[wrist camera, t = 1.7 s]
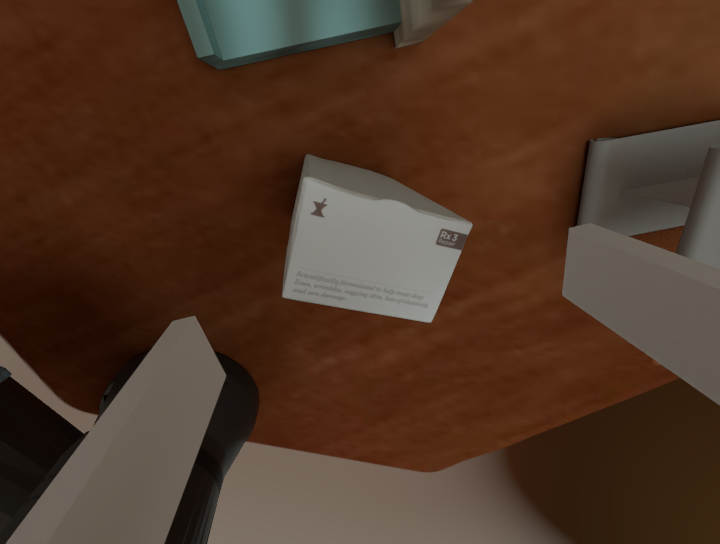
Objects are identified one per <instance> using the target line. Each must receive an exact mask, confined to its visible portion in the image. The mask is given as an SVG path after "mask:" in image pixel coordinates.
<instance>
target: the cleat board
mask: <svg viewBox="0 0 720 544" xmlns="http://www.w3.org/2000/svg"><path fill="white" fill-rule="evenodd" d="M472 1H473V0H177V2H178V5H179V8H180V10H181V13H182V16H183V19H184V21H185V24H186V27H187V30H188V33H189V35H190V38H191V41H192V44H193V46H194V49H195V52H196V55H197V58H199V59H201V60H202V61H204V62H206V63H208V64H209V65H211V66H213V67H215V68H217V69H218V70H222V69H226V68H231V67H236V66H240V65H245V64H249V63H254V62H259V61H263V60H268V59H272V58H277V57H281V56H286V55H291V54H295V53H300V52H304V51H309V50H313V49H318V48H323V47H327V46H332V45H336V44H341V43H345V42H350V41H355V40H359V39H364V38H368V37H373V36H377V35H382V34H387V33H391V32H394V39H395V47H396V48H399V47H403V46H408V45H413V44H417V43H422V42H423V41H424V40H425V39H427V38H428V37H429V36H430V35H431V34H433V33H434V32H435V31H436V30H438V29H439V28H440V27H441V26H443V25H444V24H445V23H446V22H448V21H449V20H450V19H451V18H452V17H454V16H455V15H456V14H457V13H459V12H460V11H461V10H462V9H464V8H465V7H466V6H467V5H469V4H470V3H471V2H472Z"/></svg>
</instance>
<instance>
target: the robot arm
mask: <svg viewBox="0 0 720 544" xmlns="http://www.w3.org/2000/svg"><path fill="white" fill-rule="evenodd" d="M562 296H564V297H565V298H567V299H568V300H569V301H571V302H572V303H574V304H575V305H577V306H578V307H580V308H581V309H582V310H584V311H585V312H587V313H588V314H590V315H591V316H592V317H594V318H595V319H597V320H598V321H600V322H601V323H603V324H604V325H605V326H607V327H608V328H610V329H611V330H613V331H614V332H615V333H617V334H618V335H620V336H621V337H623V338H624V339H625V340H627V341H628V342H630V343H631V344H633V345H634V346H636V347H637V348H638V349H640V350H641V351H643V352H644V353H646V354H647V355H648V356H650V357H651V358H653V359H654V360H656V361H657V362H658V363H660V364H661V365H663V366H664V367H666V368H667V369H669V370H670V371H671V372H673V373H674V374H676V375H677V376H679V377H680V378H682V379H683V380H684V381H686V382H687V383H689V384H690V385H692V386H693V387H694V388H696V389H697V390H699V391H700V392H702V393H703V394H704V395H706V396H707V397H709V398H710V399H712V400H713V401H714V402H716V403H717V404H719V405H720V269H718V268H715V267H712V266H709V265H706V264H704V263H701V262H698V261H695V260H693V259H690V258H687V257H684V256H681V255H679V254H676V253H673V252H670V251H667V250H665V249H662V248H659V247H656V246H653V245H651V244H648V243H645V242H642V241H639V240H637V239H634V238H631V237H628V236H625V235H623V234H620V233H617V232H614V231H611V230H609V229H606V228H603V227H600V226H597V225H595V224H592V223H588V224H584V225H579V226H575V227H571V228H569V234H568V243H567V253H566V262H565V272H564V282H563V291H562ZM10 375H11V373H10V372H9V371H8V370H7V369H6V368H3V367H1V366H0V544H207V541H208V537H209V533H210V529H211V525H212V521H213V518H214V513H215V510H216V506H217V502H218V498H219V494H220V490H221V486H222V483H223V479H224V477H225V475H226V473H227V472H228V470H229V468H230V466H231V465H232V463H233V461H234V460H235V458H236V456H237V455H238V453H239V451H240V450H241V448H242V446H243V444H244V443H245V442H246V440H247V439H248V437H249V436H250V434H251V433H252V430H253V428H254V425H255V422H256V417H257V413H258V408H259V394H258V390H257V387H256V385H255V383H254V381H253V380H252V378H251V377H250V375H249V374H248V373H247V372H246V371H245V370H244V369H243V368H242V367H241V366H239V365H238V364H237V363H235V362H234V361H232V360H231V359H229V358H227V357H225V356H223V355H221V354H218V353H216V352H214V351H213V349H212V347H211V345H210V343H209V341H208V340H207V338H206V336H205V334H204V332H203V330H202V328H201V326H200V324H199V322H198V320H197V319H196V317H195V316H192V317H187V318H183V319H179V320H175V321H172V322H171V324H170V325H169V326H168V328H167V329H166V330H165V332H164V333H163V334H162V336H161V337H160V338H159V340H158V341H157V342H156V344H155V345H154V346H153V348H152V349H151V350H150V351H147V352H144V353H142V354H140V355H138V356H136V357H134V358H133V359H131V360H130V361H129V362H127V363H126V364H125V365H124V366H123V367H122V368H121V370H120V371H119V372H118V373H117V374H116V376H115V377H114V378H113V379H112V381H111V382H110V383H109V385H108V386H107V388H106V390H105V391H104V394H103V396H102V399H101V402H100V407H99V415H98V417H97V419H96V421H95V424H94V426H93V428H92V429H91V431H88V432H86V433H85V434H83V433H82V432H81V431H80V430H78V429H77V428H76V427H74V426H73V425H72V424H71V423H69V422H68V421H67V420H65V419H64V418H63V417H62V416H60V415H59V414H58V413H56V412H55V411H54V410H52V409H51V408H50V407H49V406H47V405H46V404H45V403H43V402H42V401H41V400H40V399H38V398H37V397H36V396H34V395H33V394H32V393H31V392H29V391H28V390H27V389H25V388H24V387H23V386H22V385H20V384H19V383H18V382H16V381H15V380H14V379H13V378H11V377H10Z"/></svg>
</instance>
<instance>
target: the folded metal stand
mask: <svg viewBox="0 0 720 544" xmlns="http://www.w3.org/2000/svg"><path fill="white" fill-rule="evenodd" d="M588 223H592V224H595V225H597V226H600V227H603V228H606V229H609V230H611V231H614V232H617V233H620V234H623V235H625V236H632V235H637V234H642V233H647V232H652V231H657V230H662V229H667V228H672V227H677V226H683V225H685V226H684V229H683V232H682V235H681V238H680V241H679V245H678V248H677V251H676V254H679V255H681V256H684V257H687V258H690V259H693V260H695V261H698V262H701V263H704V264H706V265H709V266H712V267H715V268H718V269H720V120H717V121H712V122H707V123H701V124H696V125H690V126H685V127H679V128H674V129H668V130H663V131H657V132H652V133H646V134H641V135H635V136H630V137H624V138H619V139H616V138H599V139H597V141H593V140H590V144H589V151H588V157H587V163H586V170H585V176H584V182H583V189H582V195H581V201H580V208H579V214H578V220H577V226H579V225H584V224H588Z"/></svg>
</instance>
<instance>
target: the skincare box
mask: <svg viewBox="0 0 720 544" xmlns="http://www.w3.org/2000/svg"><path fill="white" fill-rule="evenodd" d="M472 226H473V224H472V223H471V222H469V221H467V220H466V219H464V218H462V217H460V216H459V215H457V214H455V213H453V212H452V211H450V210H448V209H446V208H444V207H442V206H440V205H439V204H437V203H435V202H433V201H431V200H430V199H428V198H426V197H424V196H422V195H421V194H419V193H417V192H415V191H413V190H412V189H410V188H408V187H406V186H404V185H402V184H401V183H399V182H397V181H395V180H394V179H392V178H390V177H387V176H385V175H382V174H379V173H376V172H373V171H370V170H366V169H363V168H359V167H355V166H351V165H347V164H343V163H339V162H335V161H331V160H326V159H322V158H319V157H316V156H313V155H310V154H306V156H305V159H304V164H303V169H302V173H301V178H300V182H299V187H298V192H297V196H296V201H295V206H294V210H293V215H292V221H291V228H290V236H289V242H288V247H287V253H286V261H285V269H284V278H283V289H282V297H283V298H287V299H292V300H298V301H304V302H310V303H316V304H322V305H328V306H334V307H339V308H345V309H351V310H357V311H363V312H369V313H375V314H381V315H387V316H393V317H399V318H405V319H411V320H417V321H422V322H429V323H430V322H432V320H433V318H434V316H435V313H436V311H437V309H438V306H439V304H440V302H441V299H442V297H443V295H444V292H445V290H446V287H447V285H448V282H449V280H450V278H451V275H452V273H453V270H454V268H455V266H456V263H457V261H458V258H459V256H460V254H461V251H462V248H463V246H464V243H465V241H466V238H467V236H468V234H469V232H470V230H471V228H472Z"/></svg>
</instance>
